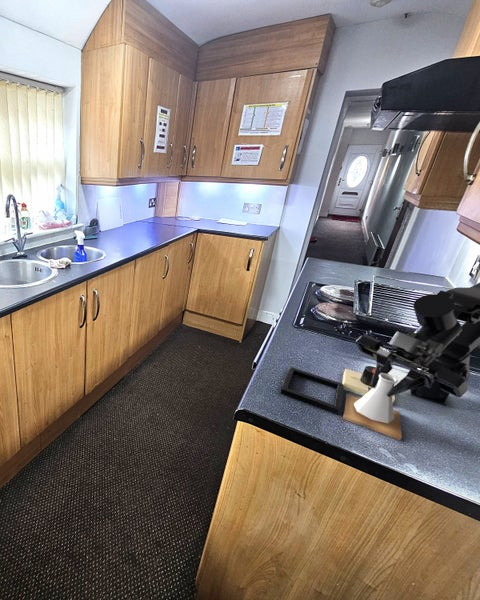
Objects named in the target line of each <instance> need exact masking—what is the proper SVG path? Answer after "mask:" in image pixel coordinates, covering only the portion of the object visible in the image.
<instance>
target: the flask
mask: <svg viewBox="0 0 480 600" xmlns="http://www.w3.org/2000/svg"><path fill="white" fill-rule="evenodd" d="M397 383H399V379H398V378H397V376H394V375H392V374H390V373H388V374H386V373H381V374H379V380H378V382H377V384H376V385H375V386H374V388H373V389H371V390H370V391H369V392H368V393H367V394H366V395H364V396H362V397H361V398H360V399H359V400H358V401H357V402H356V403H354V405H355V408H356V410H357V412H359V413H361V414H362V415H364V416H366V417H368V418H370V419H372V420H375V421H380V422H384V423H389V422H391V421H392V420H393V419H394V412H393V410H394V405H393V404H394V402H392V396H391V397H388V396H387V393H388V392H389V391H390V390H391V389H392V388H393V387H394V386H395V385H396V384H397Z"/></svg>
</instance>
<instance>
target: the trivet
mask: <svg viewBox="0 0 480 600" xmlns="http://www.w3.org/2000/svg"><path fill="white" fill-rule="evenodd" d="M359 399H361V398H360V397H357V396H353V395H351V394H348V393H346V394H345V397H344V406H343V413H342V415H343V416H342V419H343V420H345V421H348V422H351V423H354V424H356V425H358V426H361V427H364V428H366V429H369V430H371V431H374V432H377V433H380V434H383V435H385V436H388V437H391V438H394V439H395V440H399V441H401V440H402V438H403V437H402V436H403V435H402V426H401V424H402V423H401V416H400V414H401V413H400V411H398V410H397V409H396V410H395V409H393V412H394V419H393V420H392V421H391V422H389V423H384V422H380V421H375V420H372V419H370V418H368V417H366V416H364V415H362V414H361V413H359V412H357V410H356V408H355V405H354V403H356V402H357V401H358V400H359Z"/></svg>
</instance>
